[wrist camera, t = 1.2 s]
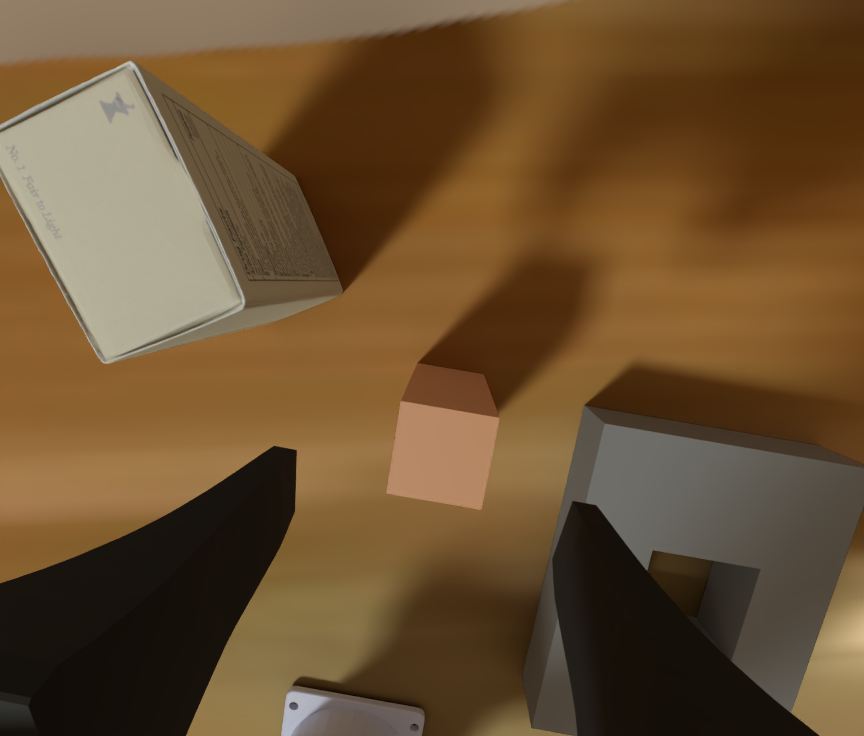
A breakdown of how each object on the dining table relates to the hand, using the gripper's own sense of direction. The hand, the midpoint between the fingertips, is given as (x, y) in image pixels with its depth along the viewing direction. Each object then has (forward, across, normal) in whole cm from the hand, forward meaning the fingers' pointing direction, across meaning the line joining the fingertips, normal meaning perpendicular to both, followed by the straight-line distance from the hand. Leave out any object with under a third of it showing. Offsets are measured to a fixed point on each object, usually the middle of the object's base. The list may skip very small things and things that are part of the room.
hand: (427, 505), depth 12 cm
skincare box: (+13, +9, -2) cm, 16 cm away
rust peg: (+12, 0, +3) cm, 12 cm away
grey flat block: (+10, -13, +10) cm, 19 cm away
